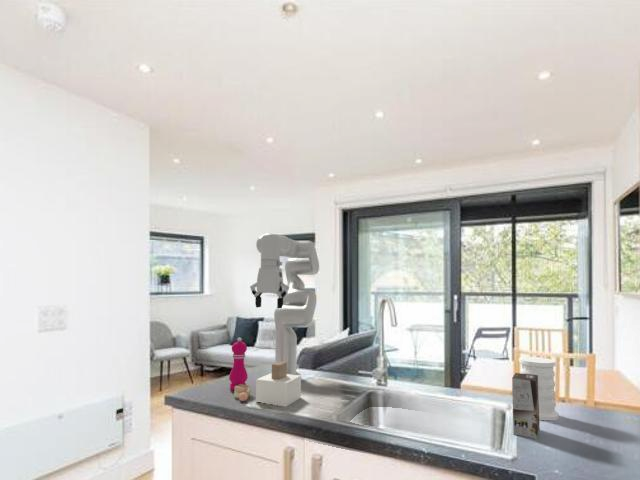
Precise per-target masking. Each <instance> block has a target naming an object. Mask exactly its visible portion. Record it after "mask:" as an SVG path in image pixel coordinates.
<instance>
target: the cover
mask: <svg viewBox="0 0 640 480" xmlns="http://www.w3.org/2000/svg"><path fill="white" fill-rule="evenodd" d="M255 382H256V383H255V385H256V387H255V403H257V402H261V403H260V404H263V403H266V404H265V405H270V404H273V405H272V406H277V405H278V406H279V407H285V408H287V407H288V406H290V405H292V404H293V403H295V402H296V401H298V400H300V399H301V398H302V394H301V393H302V392H301V391H302V375H291V374H287V362H277V363H275V362H274V363H273V364H271V372H270V373H269V374H266V375H263V376H260V377H259V378H257V379H256V381H255Z"/></svg>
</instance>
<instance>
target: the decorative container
mask: <svg viewBox="0 0 640 480" xmlns="http://www.w3.org/2000/svg"><path fill="white" fill-rule="evenodd" d="M518 361H519V362H518V363H520V364H521V367H520V372H521V374H533V375H538V398H539V421H541V420H555V421H558V420H559V419H560V417H559V416H560V414H559V412H557V411H556V405H557V402H556V400H555V397H556V391H555V386H556V382H555V380H554V379H555V375H556V372H555V370H554V367H556V365H557V362H556V360H554V359H552V358H546V357H541V356H540V357H538V356H520V357H519V359H518ZM557 419H558V420H557Z"/></svg>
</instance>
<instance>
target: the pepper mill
mask: <svg viewBox="0 0 640 480" xmlns="http://www.w3.org/2000/svg"><path fill="white" fill-rule="evenodd" d="M236 340H237V341H236V342H234V343H232V346H231V351H232V359H233V365H232V368H231V370H230V373H229V375H228V376H229V377H228V380H229V382H231V383H230V385H229V389H230V390H231V391H234V387H235V386H237V385H240V384H243V385H247V383H246V381H247V380H248V372H247V369H246V367H245V358H246V351H247V350H248V347H247V344H246V343H245V342H244V341H242V340H243V338H241V337H237V339H236Z"/></svg>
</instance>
